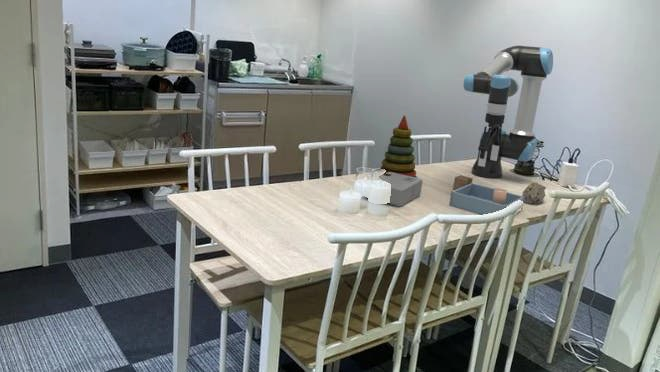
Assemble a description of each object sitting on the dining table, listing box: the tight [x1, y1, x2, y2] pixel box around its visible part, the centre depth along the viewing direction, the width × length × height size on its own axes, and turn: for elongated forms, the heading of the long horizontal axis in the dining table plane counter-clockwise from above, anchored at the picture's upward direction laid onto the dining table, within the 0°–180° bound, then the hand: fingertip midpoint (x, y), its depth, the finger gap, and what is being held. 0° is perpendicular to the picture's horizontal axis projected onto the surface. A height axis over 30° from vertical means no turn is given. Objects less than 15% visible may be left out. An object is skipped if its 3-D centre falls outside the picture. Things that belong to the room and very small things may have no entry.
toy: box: [379, 115, 418, 178], centre depth 255 cm, size 20×20×30 cm
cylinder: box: [492, 188, 508, 205], centre depth 222 cm, size 5×5×8 cm
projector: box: [379, 172, 423, 208], centre depth 229 cm, size 17×22×8 cm
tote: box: [449, 182, 524, 215], centre depth 225 cm, size 20×24×6 cm
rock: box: [521, 181, 547, 204], centre depth 238 cm, size 12×7×10 cm, turn 121°
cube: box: [452, 174, 474, 191], centre depth 247 cm, size 6×6×6 cm
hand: (487, 163), depth 230 cm, fingers open, 13 cm apart
